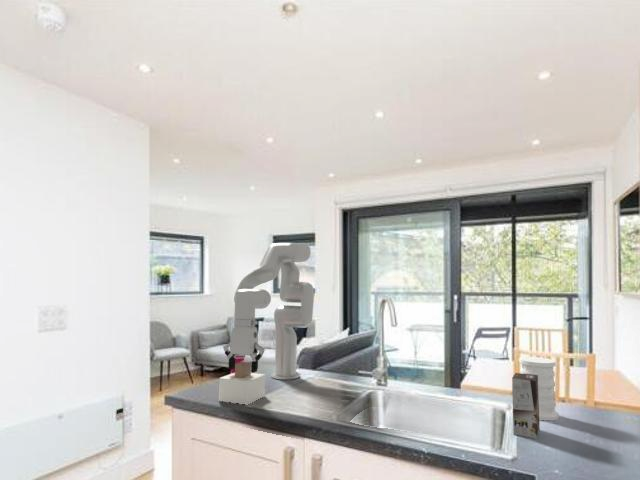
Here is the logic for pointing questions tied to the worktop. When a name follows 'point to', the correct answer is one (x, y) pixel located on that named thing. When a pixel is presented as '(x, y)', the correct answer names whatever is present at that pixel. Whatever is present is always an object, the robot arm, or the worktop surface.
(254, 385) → the cover
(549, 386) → the decorative container
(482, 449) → the worktop surface
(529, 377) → the coffee box
